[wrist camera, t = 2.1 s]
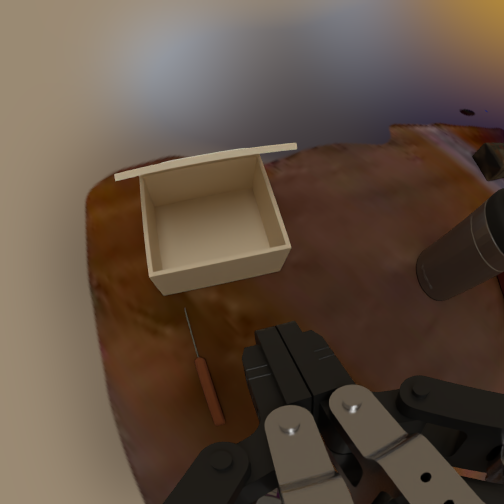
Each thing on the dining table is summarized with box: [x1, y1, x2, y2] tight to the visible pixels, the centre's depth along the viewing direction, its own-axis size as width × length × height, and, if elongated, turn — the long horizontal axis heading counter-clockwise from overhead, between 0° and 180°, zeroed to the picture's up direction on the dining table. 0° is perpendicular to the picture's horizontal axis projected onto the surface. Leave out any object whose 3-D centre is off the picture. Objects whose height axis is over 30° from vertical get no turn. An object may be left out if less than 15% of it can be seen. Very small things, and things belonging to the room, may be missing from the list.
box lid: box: [114, 143, 297, 181], centre depth 31 cm, size 16×14×1 cm
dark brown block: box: [473, 143, 504, 181], centre depth 54 cm, size 8×19×7 cm, turn 108°
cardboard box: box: [139, 154, 291, 296], centre depth 39 cm, size 16×14×8 cm
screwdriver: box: [185, 309, 225, 426], centre depth 35 cm, size 16×1×2 cm, turn 18°
